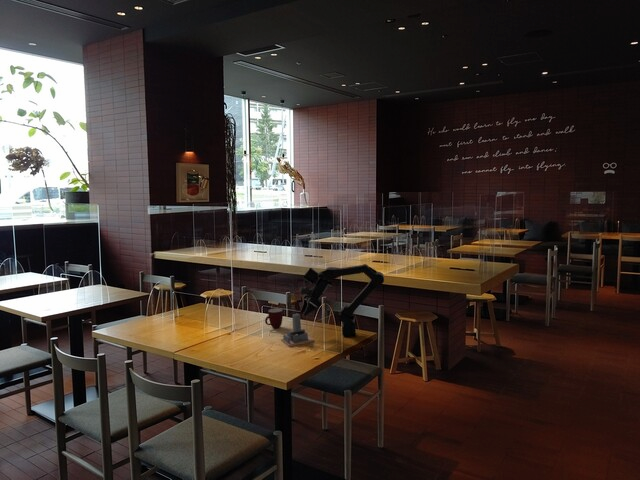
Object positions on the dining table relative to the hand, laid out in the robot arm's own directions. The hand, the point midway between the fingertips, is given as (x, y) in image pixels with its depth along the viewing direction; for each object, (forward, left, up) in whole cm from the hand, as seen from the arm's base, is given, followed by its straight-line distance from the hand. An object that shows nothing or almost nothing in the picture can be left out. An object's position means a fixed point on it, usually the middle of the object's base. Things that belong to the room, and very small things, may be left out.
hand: (302, 314), depth 247 cm
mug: (+16, -20, -13) cm, 29 cm away
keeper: (+3, +3, -13) cm, 14 cm away
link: (+3, +3, -12) cm, 13 cm away
